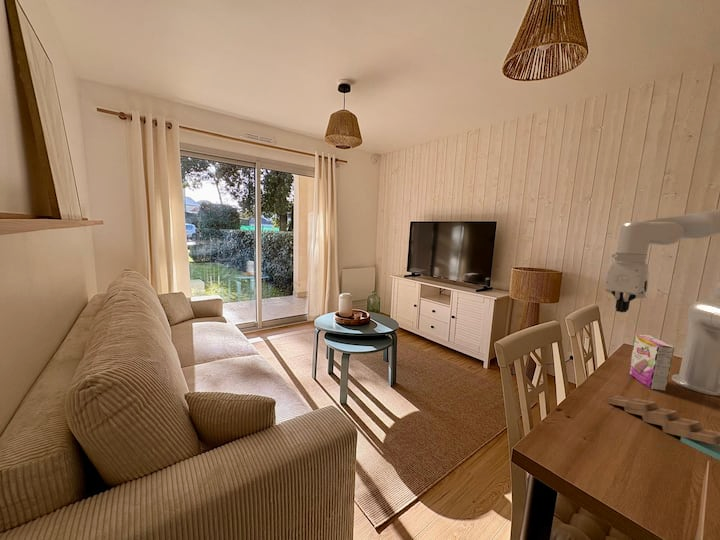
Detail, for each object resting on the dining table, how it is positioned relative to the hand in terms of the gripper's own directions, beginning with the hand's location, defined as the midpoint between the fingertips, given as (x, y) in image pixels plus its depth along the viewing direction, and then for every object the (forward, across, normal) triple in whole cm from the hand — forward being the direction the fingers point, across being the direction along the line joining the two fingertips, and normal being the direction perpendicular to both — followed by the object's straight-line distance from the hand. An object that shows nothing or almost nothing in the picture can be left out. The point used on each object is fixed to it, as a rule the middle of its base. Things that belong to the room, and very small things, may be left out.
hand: (621, 311), depth 99 cm
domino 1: (+26, +7, -12) cm, 30 cm away
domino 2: (+26, +11, -12) cm, 31 cm away
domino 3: (+26, +16, -12) cm, 33 cm away
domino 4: (+26, +20, -12) cm, 35 cm away
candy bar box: (+27, +4, +15) cm, 31 cm away
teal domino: (+27, +24, -12) cm, 38 cm away
